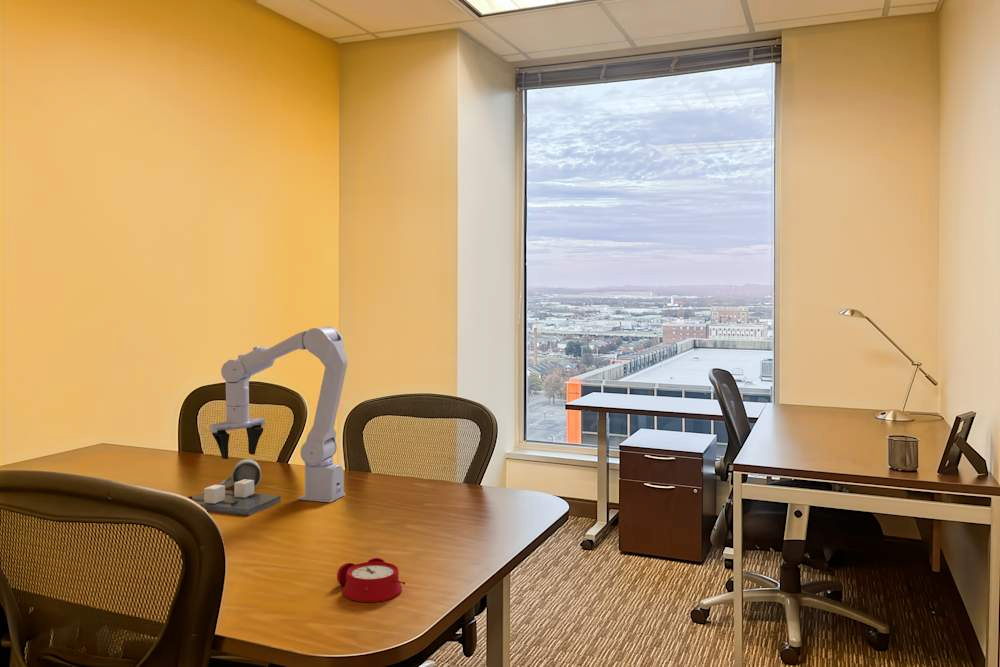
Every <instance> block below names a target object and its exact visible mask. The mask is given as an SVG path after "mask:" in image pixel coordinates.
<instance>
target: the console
mask: <svg viewBox="0 0 1000 667" xmlns="http://www.w3.org/2000/svg"><path fill="white" fill-rule="evenodd" d="M187 497H188V498H190V499H192V500H194V501H195V502H197V503H199V504H200V505H201V506H202V507H204V508H205V509H206V510H207V511H206V512H212V513H219V512H221V513H223V514H228V513H230V514H229V515H237V514H239V516H246V515H250V516H252V515H254V514H257V513H259V512H261V511H263V510H265V508H266V509H268V508H270V507H271V505H272V506H274V504H275V505H277V504H279V503H281V495H276V494H275V495H273V494H265V493H255V492H254V494H252V495H249V496H248V497H245V498H243V497H235V494H234V491H233V490H226V489H225V500H223V501H220V502H218V503H215V504H213V503H204V492H202V493H199V494H198V495H194V496H192V495H190V496H187ZM278 502H279V503H278ZM276 503H277V504H276ZM267 507H268V508H267ZM260 510H261V511H260ZM258 511H259V512H258ZM221 513H220V514H221ZM251 514H252V515H251Z"/></svg>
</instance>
